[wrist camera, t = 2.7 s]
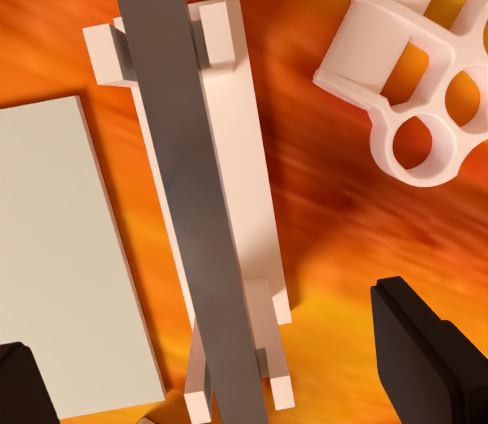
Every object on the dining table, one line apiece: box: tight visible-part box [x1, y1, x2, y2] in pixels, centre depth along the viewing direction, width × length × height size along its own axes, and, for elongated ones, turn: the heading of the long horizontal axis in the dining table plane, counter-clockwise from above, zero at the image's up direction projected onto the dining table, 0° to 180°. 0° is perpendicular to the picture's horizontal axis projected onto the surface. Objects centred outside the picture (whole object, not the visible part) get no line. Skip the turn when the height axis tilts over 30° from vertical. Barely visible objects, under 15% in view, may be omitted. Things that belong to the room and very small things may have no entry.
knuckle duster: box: [312, 0, 488, 187], centre depth 26 cm, size 3×18×15 cm
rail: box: [117, 0, 269, 424], centre depth 18 cm, size 22×2×2 cm, turn 10°
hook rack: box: [82, 0, 295, 424], centre depth 23 cm, size 24×8×12 cm, turn 10°
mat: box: [0, 96, 167, 419], centre depth 30 cm, size 26×14×1 cm, turn 10°
